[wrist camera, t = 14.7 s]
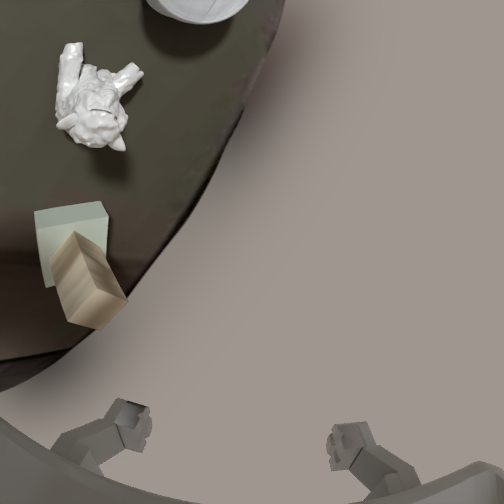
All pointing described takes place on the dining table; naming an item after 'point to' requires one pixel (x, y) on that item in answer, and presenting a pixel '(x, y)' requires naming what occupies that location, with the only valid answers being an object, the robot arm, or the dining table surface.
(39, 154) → the dining table surface
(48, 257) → the sage block
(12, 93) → the dining table surface
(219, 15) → the ramekin
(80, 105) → the seated beast figurine
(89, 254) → the birch block
